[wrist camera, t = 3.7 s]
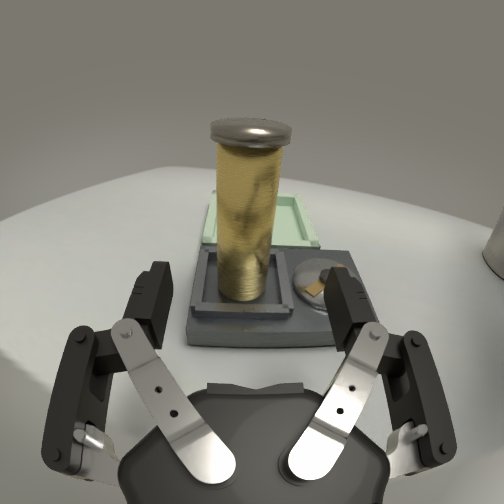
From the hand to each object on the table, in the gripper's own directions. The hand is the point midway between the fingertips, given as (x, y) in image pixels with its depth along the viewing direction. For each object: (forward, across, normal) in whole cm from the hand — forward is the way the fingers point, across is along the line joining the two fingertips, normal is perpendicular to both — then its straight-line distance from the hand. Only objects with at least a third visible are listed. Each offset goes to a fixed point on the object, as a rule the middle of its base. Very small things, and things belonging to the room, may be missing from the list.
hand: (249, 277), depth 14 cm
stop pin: (+7, 0, +7) cm, 10 cm away
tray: (+18, -2, +9) cm, 20 cm away
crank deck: (+7, -3, +9) cm, 12 cm away
